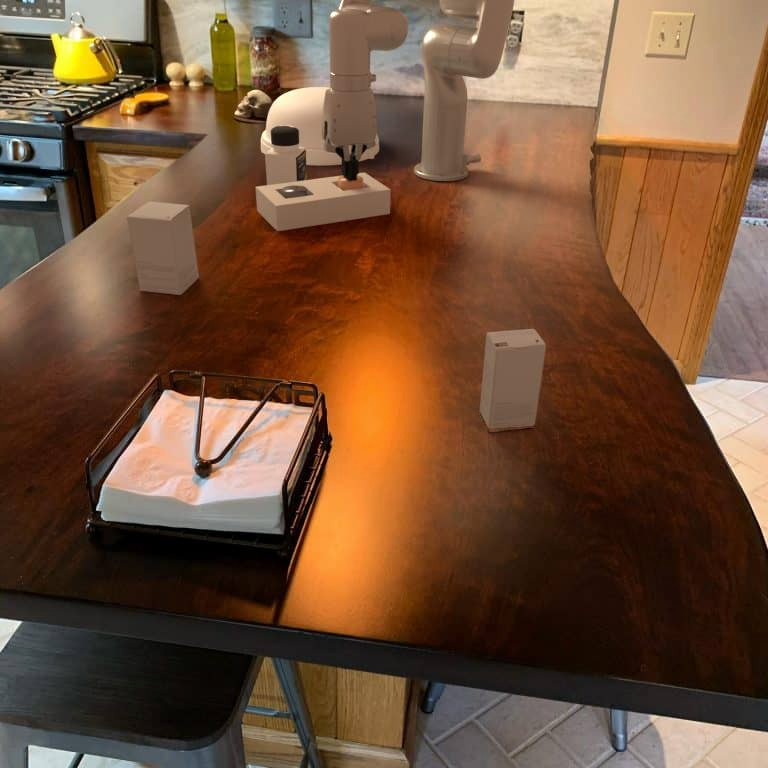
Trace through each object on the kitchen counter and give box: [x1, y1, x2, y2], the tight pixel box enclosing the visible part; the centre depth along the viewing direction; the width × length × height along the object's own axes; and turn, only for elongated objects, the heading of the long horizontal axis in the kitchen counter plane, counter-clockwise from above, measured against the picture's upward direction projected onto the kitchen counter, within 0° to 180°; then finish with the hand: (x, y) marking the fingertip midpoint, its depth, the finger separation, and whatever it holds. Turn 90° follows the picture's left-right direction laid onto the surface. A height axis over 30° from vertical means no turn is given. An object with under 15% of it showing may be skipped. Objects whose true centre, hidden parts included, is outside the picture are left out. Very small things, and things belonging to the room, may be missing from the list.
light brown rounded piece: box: [338, 175, 363, 191], centre depth 155 cm, size 5×5×4 cm
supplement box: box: [126, 201, 200, 296], centre depth 122 cm, size 7×7×13 cm
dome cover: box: [260, 86, 380, 166], centre depth 191 cm, size 32×30×14 cm
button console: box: [255, 172, 391, 232], centre depth 154 cm, size 24×12×5 cm, turn 117°
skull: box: [233, 89, 273, 124], centre depth 218 cm, size 12×10×10 cm
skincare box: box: [479, 328, 547, 429], centre depth 91 cm, size 6×4×12 cm
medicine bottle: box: [264, 125, 308, 185], centre depth 168 cm, size 7×7×12 cm
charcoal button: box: [282, 185, 308, 199], centre depth 151 cm, size 5×5×4 cm
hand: (350, 178), depth 154 cm, fingers closed
